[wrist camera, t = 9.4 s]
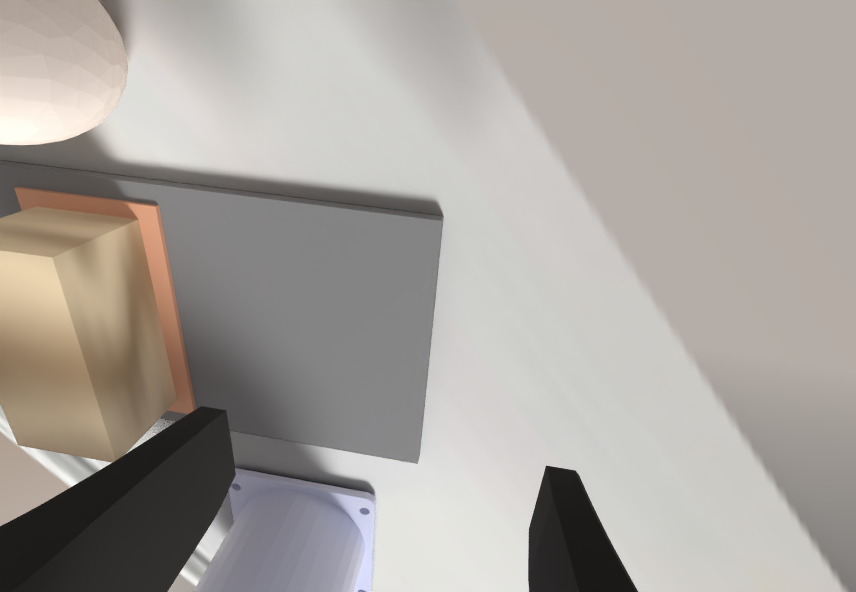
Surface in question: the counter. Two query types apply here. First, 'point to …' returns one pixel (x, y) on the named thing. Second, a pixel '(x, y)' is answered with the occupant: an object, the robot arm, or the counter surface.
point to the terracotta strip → (157, 267)
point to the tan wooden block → (79, 333)
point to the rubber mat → (289, 306)
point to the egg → (57, 69)
